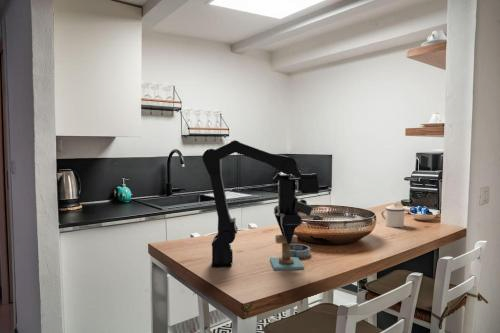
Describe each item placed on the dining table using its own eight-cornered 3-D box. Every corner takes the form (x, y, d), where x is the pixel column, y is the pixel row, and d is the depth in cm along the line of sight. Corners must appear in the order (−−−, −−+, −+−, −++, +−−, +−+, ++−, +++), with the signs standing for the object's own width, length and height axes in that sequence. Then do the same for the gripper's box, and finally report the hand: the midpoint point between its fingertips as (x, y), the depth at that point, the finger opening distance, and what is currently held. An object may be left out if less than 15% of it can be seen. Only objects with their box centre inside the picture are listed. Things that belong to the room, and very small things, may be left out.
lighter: (327, 238, 155) (327, 215, 154) (323, 239, 152) (323, 216, 152) (311, 235, 160) (311, 213, 160) (307, 236, 158) (307, 214, 157)
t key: (294, 259, 124) (295, 234, 123) (297, 264, 119) (298, 237, 118) (274, 260, 123) (275, 234, 122) (277, 264, 118) (277, 238, 117)
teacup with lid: (407, 226, 178) (408, 203, 177) (397, 228, 172) (398, 205, 171) (386, 222, 187) (387, 200, 186) (376, 224, 182) (376, 201, 181)
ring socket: (286, 258, 127) (286, 251, 127) (281, 250, 137) (281, 244, 137) (312, 257, 128) (312, 251, 128) (306, 249, 137) (306, 243, 137)
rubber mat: (273, 270, 115) (273, 267, 115) (269, 260, 125) (269, 257, 125) (304, 269, 116) (304, 266, 116) (297, 259, 126) (297, 257, 126)
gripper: (318, 197, 111) (317, 246, 112) (304, 189, 129) (303, 232, 130) (282, 198, 110) (282, 247, 111) (273, 190, 128) (273, 232, 129)
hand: (286, 239), depth 120 cm, fingers open, 9 cm apart
